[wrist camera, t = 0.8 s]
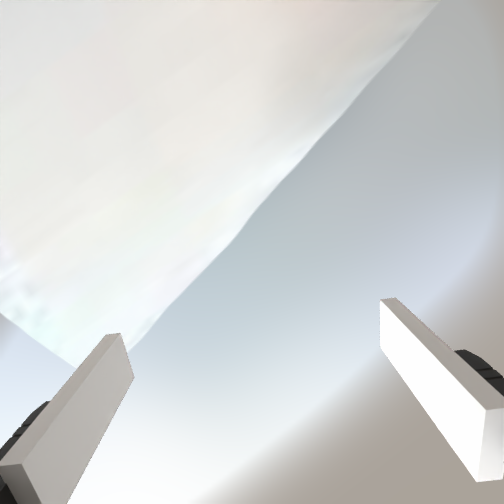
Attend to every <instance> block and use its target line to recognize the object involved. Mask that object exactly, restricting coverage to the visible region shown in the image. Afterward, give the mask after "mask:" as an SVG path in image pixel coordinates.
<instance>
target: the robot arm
mask: <svg viewBox="0 0 504 504" xmlns="http://www.w3.org/2000/svg"><path fill="white" fill-rule="evenodd" d="M380 347H381V349H382V350H383V351H384V353H385V354H386V356H387V357H388V358H389V360H390V361H391V363H392V364H393V365H394V367H395V368H396V370H397V371H398V372H399V374H400V375H401V377H402V378H403V379H404V381H405V382H406V384H407V385H408V386H409V387H410V389H411V390H412V392H413V393H414V395H415V396H416V398H417V399H418V400H419V402H420V403H421V405H422V406H423V407H424V409H425V410H426V412H427V413H428V414H429V416H430V417H431V419H432V420H433V421H434V423H435V424H436V426H437V427H438V429H439V430H440V431H441V433H442V434H443V436H444V437H445V438H446V440H447V441H448V443H449V444H450V445H451V447H452V448H453V449H454V451H455V452H456V454H457V455H458V457H459V458H460V459H461V460H462V462H463V464H464V465H465V466H466V468H467V469H468V471H469V472H470V473H471V475H472V476H473V477H474V479H475V480H476V482H480V481H489V480H499V479H503V473H504V378H503V376H502V375H500V374H499V373H498V372H497V371H496V370H493V368H492V367H491V366H490V365H489V364H488V363H486V362H485V361H484V360H483V359H482V358H480V357H478V356H477V355H475V354H472V353H471V352H469V351H467V350H457V351H453V350H452V349H451V348H450V347H449V346H448V345H447V344H446V343H445V342H443V341H442V340H441V339H440V338H439V337H438V336H437V335H436V334H435V333H434V332H433V331H431V330H430V329H429V328H428V327H427V326H426V325H425V324H424V323H423V322H421V321H420V320H419V319H418V318H417V317H416V316H415V315H414V314H413V313H412V312H411V311H410V310H409V309H407V308H406V307H405V306H404V305H403V304H402V303H401V302H400V301H399V300H397V298H389V299H381V300H380ZM133 379H134V375H133V372H132V368H131V365H130V362H129V359H128V356H127V352H126V349H125V346H124V343H123V340H122V337H121V333H116V334H109V335H105V336H104V338H103V339H102V340H101V341H100V342H99V344H98V345H97V346H96V347H95V348H94V349H93V351H92V352H91V353H90V354H89V355H88V357H87V358H86V359H85V360H84V361H83V363H82V364H81V365H80V366H79V367H78V369H77V370H76V371H75V372H74V373H73V375H72V376H71V377H70V378H69V380H68V381H67V382H66V383H65V384H64V386H63V387H62V388H61V389H60V390H59V392H58V393H57V394H56V395H55V396H54V397H53V399H52V400H51V401H46V402H45V403H44V404H42V405H41V406H40V407H39V408H37V409H36V410H35V411H34V412H32V413H31V414H30V416H29V417H28V418H27V419H26V420H25V421H24V422H23V424H22V425H21V427H19V428H18V429H17V430H16V432H15V433H14V434H13V436H12V438H10V439H9V440H8V441H7V442H6V443H5V444H4V446H3V447H2V448H1V449H0V504H67V502H68V500H69V499H70V497H71V495H72V493H73V491H74V489H75V487H76V486H77V484H78V482H79V480H80V478H81V476H82V474H83V472H84V471H85V468H86V467H87V465H88V463H89V461H90V459H91V458H92V455H93V454H94V452H95V450H96V448H97V446H98V444H99V443H100V441H101V439H102V437H103V435H104V433H105V431H106V429H107V428H108V426H109V424H110V422H111V420H112V418H113V416H114V414H115V412H116V411H117V409H118V407H119V405H120V403H121V401H122V400H123V398H124V396H125V394H126V392H127V390H128V388H129V386H130V385H131V383H132V381H133Z"/></svg>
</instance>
